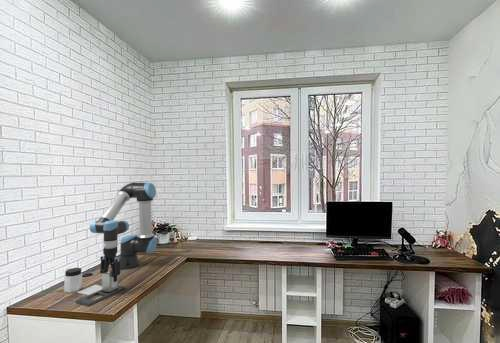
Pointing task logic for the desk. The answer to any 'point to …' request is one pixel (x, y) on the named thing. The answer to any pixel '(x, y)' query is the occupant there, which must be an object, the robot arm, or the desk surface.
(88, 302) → the rack rail
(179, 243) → the desk surface
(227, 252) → the desk surface
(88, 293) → the parts mat
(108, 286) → the pale translucent bottle
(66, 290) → the jar
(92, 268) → the desk surface
